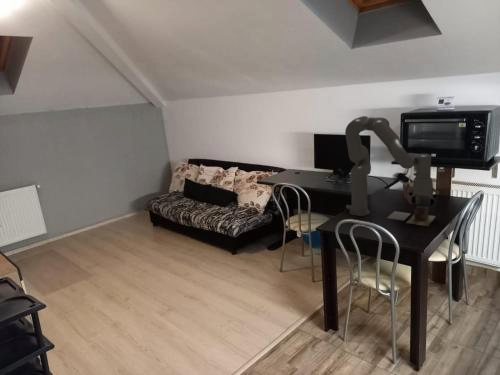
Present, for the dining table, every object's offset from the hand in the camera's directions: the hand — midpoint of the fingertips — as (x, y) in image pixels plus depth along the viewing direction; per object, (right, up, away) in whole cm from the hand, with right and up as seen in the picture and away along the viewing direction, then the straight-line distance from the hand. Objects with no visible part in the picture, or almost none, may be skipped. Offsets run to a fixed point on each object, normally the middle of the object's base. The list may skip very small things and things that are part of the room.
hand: (422, 204), depth 222 cm
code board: (0, -9, +3) cm, 10 cm away
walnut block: (0, -9, +3) cm, 9 cm away
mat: (-9, -8, +11) cm, 17 cm away
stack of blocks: (+10, +1, +40) cm, 41 cm away
